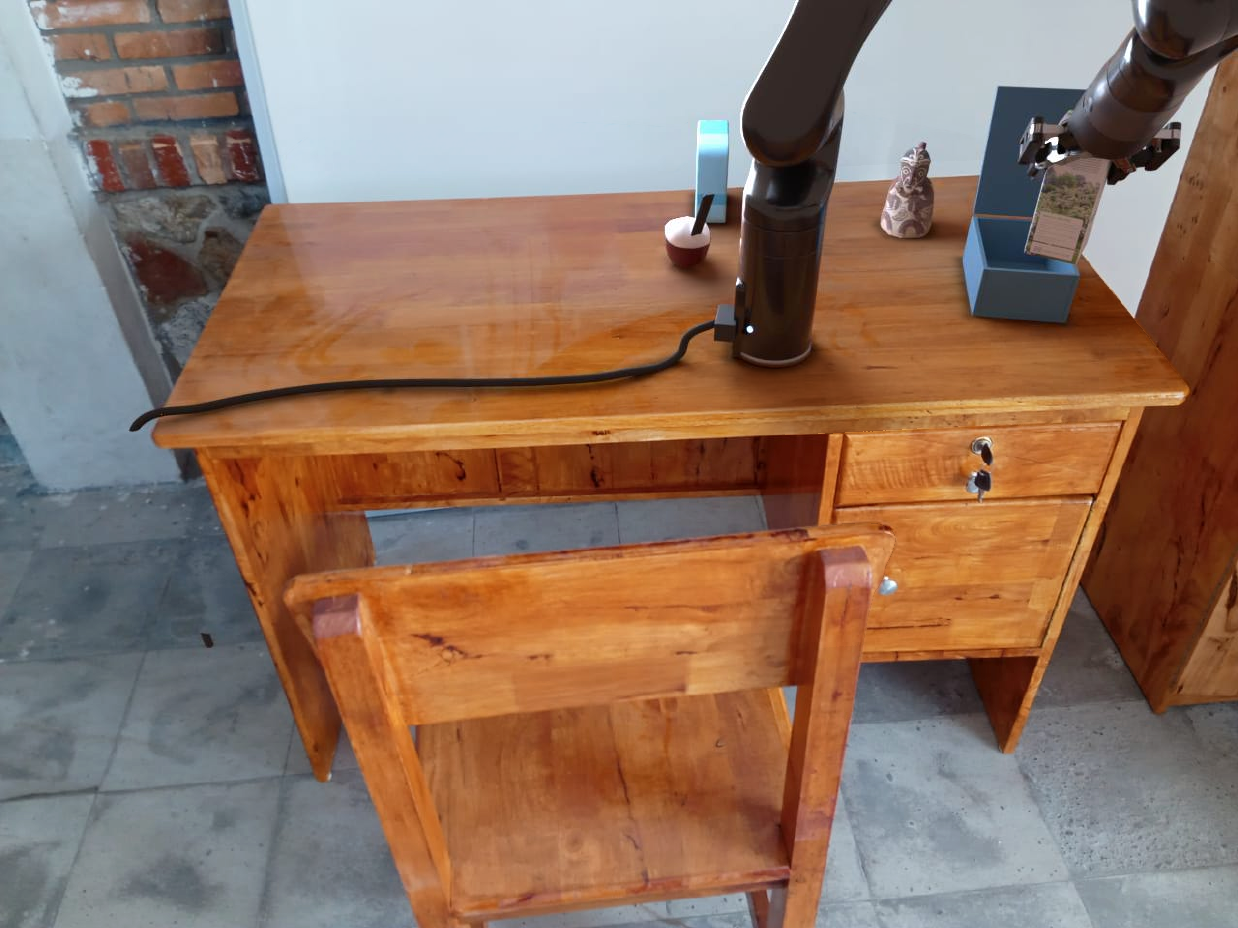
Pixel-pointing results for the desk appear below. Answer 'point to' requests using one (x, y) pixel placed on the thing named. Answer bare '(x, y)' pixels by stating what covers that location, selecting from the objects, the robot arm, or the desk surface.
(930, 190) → the figurine
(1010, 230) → the box
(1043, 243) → the syrup box
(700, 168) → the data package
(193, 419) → the desk surface
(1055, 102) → the lunchbox lid
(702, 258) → the ice cream cup
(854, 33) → the robot arm
